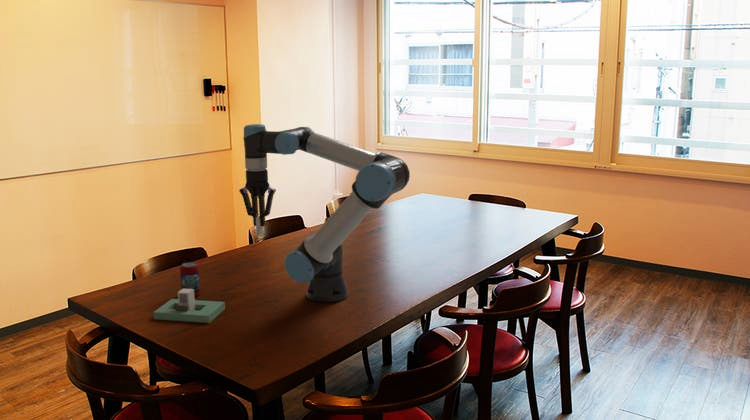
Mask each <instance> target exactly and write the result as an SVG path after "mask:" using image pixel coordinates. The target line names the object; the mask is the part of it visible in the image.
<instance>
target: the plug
mask: <svg viewBox="0 0 750 420" xmlns="http://www.w3.org/2000/svg"><path fill="white" fill-rule="evenodd" d="M177 299H178V303H179V305H180V306H188V310H195V300H196V298H195V297H194V289H182V288H181V289H180V290H179V291H178V292H177Z"/></svg>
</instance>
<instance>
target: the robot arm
mask: <svg viewBox="0 0 750 420" xmlns="http://www.w3.org/2000/svg"><path fill="white" fill-rule="evenodd" d="M242 138H243V146H244V165H245V169H246V170H245V181H246V182H245V184H244V185H245V186H244V187H242V188H240V189H239V190H238V191H239V193H240V194H241V196H242V199H243V202H244V206H245V210H246V213H247V216H250V217H252V219H253V220H252V221H253V226H254V227H256V228H255V233H256V236H258V237H261V236H262V235H264V227H265V225H266V217H268V216H270V214H271V209H272V204H273V199H274V195H275V193H276V191H277V190H276V188H273V187H271V185H270V183H269V175H268V174H269V172H268V170H267V168H268V155H267V154H275V155H277V154H279V155H282V156H283V155H284V156H286V155H294V154H296V152H298V151H303V153H304V152H305V153H308V154H311V155H314V156H316V157H319V158H322V159H325V160H327V161H330V162H333V163H336V164H339V165H341V166H343V167H345V168H346V167H347V168H349V169H353V170H355V171H358V173H357V174H356V177H355V181H354V182H353V183H352V185H351V190H352V191H351V192H350V194H349V195H348V196H347V197H346V198H345V200H344V201H342V203H341V204H340V205H339V206H338V208H337V209H336V210H335V211H334V212H333V213H332V214H331V216H329V218H328V219H327V220H326V221H325V222H324V223H323V224H322V226H321V227H320V228H319V229H318V230H317V232H316V233H314V234H311V235H309V236H307V237H306V238H304V240H303V241H302V242H301V243H300V244H299V246H298V247H297V248H295V249H294V250H291V251H290V252H289V253H287V255H286V256H285V258H284V269H285V272H286V274H287V275H288V277H289V278H290V279H291V280H292V281H294V282H296V283H300V284H305V283H308V286H307V288H306V298H307V299H309V300H310V301H313V302H318V303H334V302H339V301H343V300H345V299H346V298H348V296H349V289H348V285H347V282H346V280H345V278H344V275H343V274H344V273H343V270H344V269H343V265H344V264H343V246H344V245H343V242H344V241H345V239H346V238H347V237H348V236H349V235H350V234H351V233H352V232H353V231H354V230H355V229H356V228H357V227H358V225H359V224H360V223H361V222H362V221H363V220H364V219H365V218H366V216H367V215H368V214H369V213H370V212H371V211H372V210H378V209H380V208H381V207H382V205H384V204H385V202H386V201H388V199H389V198H390V197H391V196H392V195H393V194H395V193H398V192H400V191H402V190H404V188H406V186H407V185H408V184H409V182H410V169H409V167H408V165H407V163H406V162H405V161H404V160H402V159H401V158H400V157H397V156H394V155H392V154H389V153H385V152H383V151H379V152H378V153H376V152H373V151H370V150H367V149H365V148H361V147H358V146H355V145H353V144H349V143H347V142H346V143H345V142H344V141H340V140H338V139H335V138H332V137H329V136H325V135H323V134H321V133H317V132H315V131H314V130H313V129H312V128H311V127H309V126H299V127H296V128H290V129H285V130H281V131H280V130H278V131H272V130H270V131H269V130H267V129H266V125H265V124H261V123H260V124H258V123H257V124H256V123H253V124H246V125H244V127H243V137H242ZM248 192H249V193H248ZM266 193H268V195H267V198H266V202H265V197H266V195H265V194H266ZM249 195H250V196H249ZM250 198H251V200H250ZM265 203H266V204H265Z"/></svg>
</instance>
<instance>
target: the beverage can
mask: <svg viewBox="0 0 750 420" xmlns="http://www.w3.org/2000/svg"><path fill="white" fill-rule="evenodd" d="M179 271H180V287H181V290H182V289H194V298H195V297H197V296H199V295H200V294H201V293H202V291H201V277H200V275H201V274H200V267H199V266H198V264H197V262H194V261H188V262H183V263H181V266H180V269H179Z"/></svg>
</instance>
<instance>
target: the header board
mask: <svg viewBox="0 0 750 420" xmlns="http://www.w3.org/2000/svg"><path fill="white" fill-rule="evenodd" d="M225 309H226V301H212V300H199V299H198V300H196V299H195V310H188V306H180V305H179V303H178V298H171V299H169V300H168V301H166V302H165V303H164V304H163V305H161V306H159V307H158V308H157V309H156V310H155V311H153V319H154V320H163V321H164V320H165V321H173V322H174V321H177V322H178V321H179V322H191V323H203V324H205V323H206V324H210V323H211V322H212V321H213V320H214V319H216V317H218V316H219V315H220V314H221V313H222V312H224V310H225Z"/></svg>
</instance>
